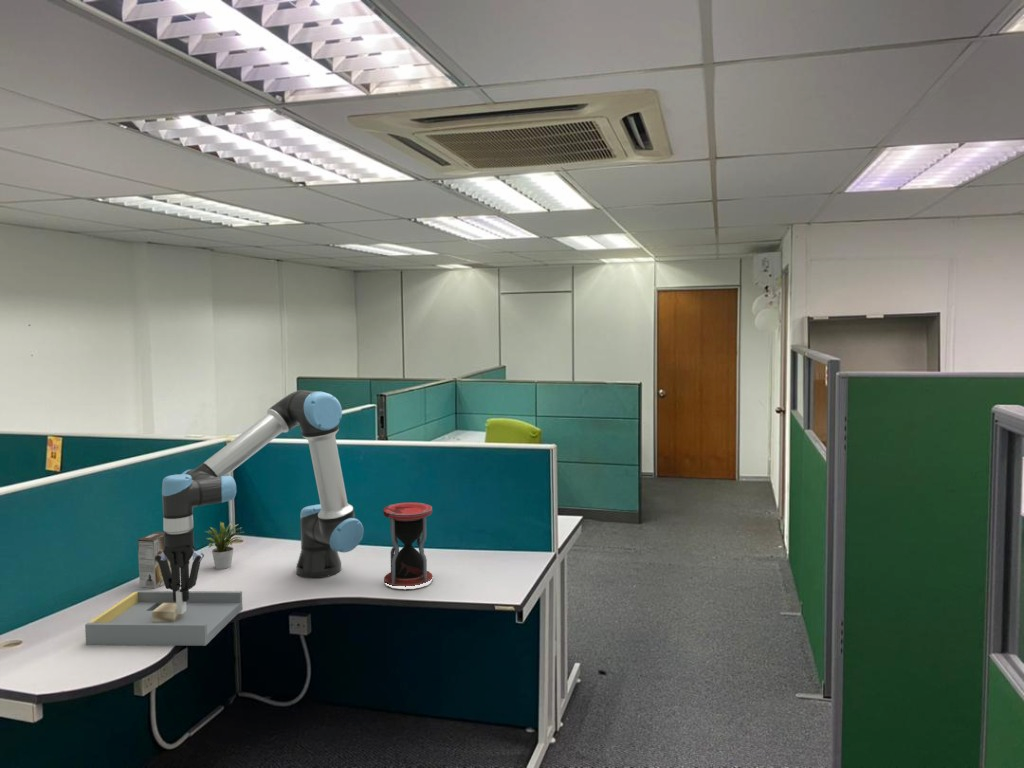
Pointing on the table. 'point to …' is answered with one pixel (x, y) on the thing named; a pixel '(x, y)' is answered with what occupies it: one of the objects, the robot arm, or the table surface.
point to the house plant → (223, 546)
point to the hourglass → (408, 544)
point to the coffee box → (150, 560)
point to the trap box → (135, 624)
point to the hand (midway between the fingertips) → (181, 612)
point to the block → (165, 613)
